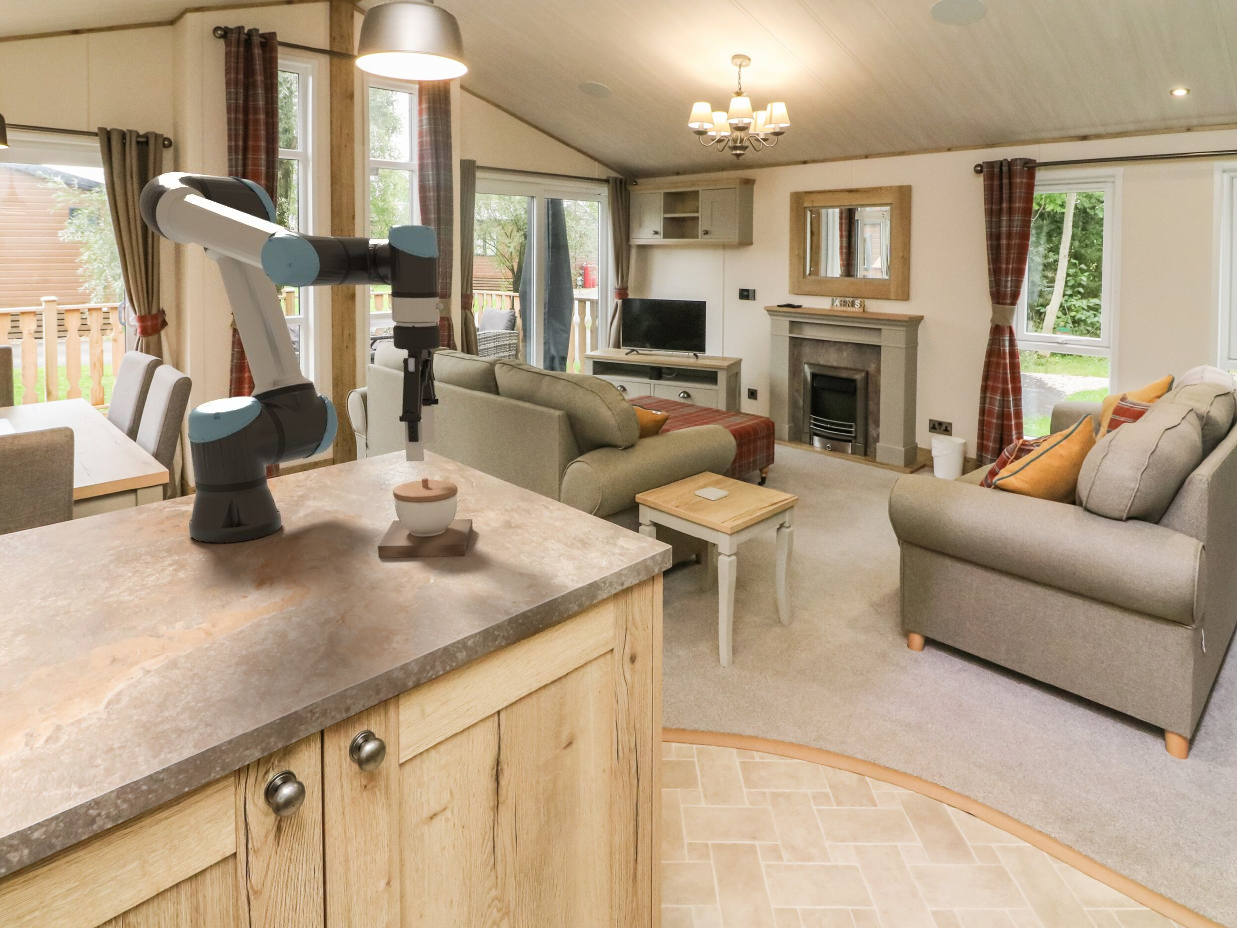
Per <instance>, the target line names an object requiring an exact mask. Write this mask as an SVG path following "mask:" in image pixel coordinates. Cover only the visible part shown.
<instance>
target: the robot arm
mask: <svg viewBox="0 0 1237 928" xmlns="http://www.w3.org/2000/svg"><path fill="white" fill-rule="evenodd" d="M139 211H140V215H141V217H142V219H143V221H144V223H145V224H146V225H147V227H148V229H150V230H151V231H152V232H153V233H154V234H156V235H158V236H160V237H161V238H164V239H167V240H169V241H171V242H175V243H178V244H182V245H184V244H186V245H189V244H191V243H192V244H196V245H197V246H201V247H203V250H204V254H205V255H206V257H207V258H208V259H210V260H212V261H214V262H215V263H216V264H217V265H218V270H219V271H220V276H221V279H222V281H223V286H224V289H225V292H226V295H227V298H228V301H229V305H230V309H231V311H232V314H233V317H234V321H235V324H236V327H237V330H238V334H239V337H240V341H241V344H242V347H243V350H244V353H245V354H244V355H245V356H246V359H247V364H248V366H249V370H250V373H251V376H252V377H251V378H252V380H253V383H254V389H253V391H252V392H251V394H250V395H249V396H233V397H229V398H224V397H223V398H220V399H214V400H211V401H208V402H204V403H202V404H200V405H198V406H196V407H194V408H193V409H192V410H191V411H190V413H189V414H188V418H187V420H188V421H187V422H188V423H187V424H188V426H187V428H188V431H187V437H188V441H189V443H190V444H189V446H190V451H191V452H190V453H191V461H192V468H193V469H192V470H193V476H194V485H195V486H194V487H195V497H194V501H193V507H192V515H191V518H190V519H189V520H188V521H189V522H188V529H189V537H190V536H191V537H193V538H194V539H197V540H200V541H199V542H201V541H205V542H204V543H209V542H217V543H219V544H224V542H225V544H227V543H236V542H237V541H238V542H243V541H249V540H250V541H251V540H255V539H258V538H262V537H265V536H268V535H271V534H273V533H275V532H277V531H278V530H279V529H281V528H282V525H283V524H282V515H281V512H280V509H279V508H278V507H277V504H276V502H275V499H274V497H273V495H272V493H271V490H270V487H269V486H268V480H267V479H268V477H267V467H269V466H274V465H277V464H278V465H279V464H283V463H287V462H292V461H295V460H300V459H304V460H305V459H308V458H312V457H313V456H315V455H319V454H322V453H324V452H326V451H327V450H329V448H330V447H331V446H332V445H333V443H334V441H335V438H336V436H337V433H338V429H339V428H338V425H339V424H338V414H337V410H336V407H335V405H334V404H333V402H332V400H330V399H329V397H327V396H326V395H325V394H322V393H318V392H317V390H316V388H315V384H314V381H312V380H310V379H309V378H307V377H305V376H304V375H303V372H302V370H301V367H300V363H299V359H298V357H297V354H296V353H297V352H296V350H295V347H294V344H293V340H292V337H291V333H290V329H289V327H288V324H287V320H286V317H285V314H284V311H283V308H282V304H281V300H280V297H279V294H278V291H277V288H276V285H277V286H282V287H291V288H302V287H303V288H304V287H317V286H318V287H324V286H367V285H369V286H371V285H372V286H374V285H376V286H390V289H391V292H390V295H391V296H390V299H391V300H390V303H391V321H393V322H394V323H395V324H394V326H393V327H392V333H393V334H392V337H393V346H394V348H396V349H397V350H406V351H407V357H404V358H403V360H402V364H403V382H402V383H403V386H402V404H401V405H402V413H401V415H399V416H398V419H399V422H400V423H401V422H403V423H404V436H405V438H404V439H405V458H406V459H405V460H406V462H425V450H424V449H425V446H424V445H425V444H427V443H429V444H432V443H433V444H434V443H436V440H437V439H436V412H435V405H437V406H438V405H439V403H440V402H439V398H437V395H436V389H435V379H434V370H433V361H432V354H433V353H432V350H435V349H436V350H437V349H439V348H441V346H442V338H441V327H440V325H438V324H437V323H438V322H440V320H441V319H440V318H441V317H440V315H441V314H440V310H442V309H444V305H443V303H442V302H441V303H440V302H439V301H440V291H439V289H440V288H439V287H440V286H439V282H440V281H439V256H440V252H439V249H438V238H437V231H436V230H435V228H434V227H432V226H429V225H418V224H417V225H414V224H411V225H410V224H396V225H395V224H394V225H390V226H389V228H388V236H387V238H382V237H380V238H379V237H361V236H359V237H358V236H357V237H356V236H354V237H352V236H351V237H349V236H320V235H309V234H305V233H302V232H300V231H297V230H293V229H291V228H288V227H286V226H284V225H280V224H277V223H276V222H277V213H276V208H275V205H274V203H273V201H272V199H271V197H270V195H269V193H268V192H267V191H266V189H264V188H263V187H262V186H261V185H260V184H258V183H256V182H255V181H252V180H249V179H244V178H240V177H237V176H217V175H208V174H207V175H206V174H198V173H197V174H196V173H187V172H166V173H163V174H160V175H158V176H155V177H153V178H152V179H151V180H150V181H149V182H147V183H146V184H145V186H144V187H143V189H142V192H141V193H140V197H139ZM424 443H425V444H424ZM191 537H190V538H191ZM194 539H193V540H194ZM197 540H196V541H197ZM217 543H216V544H217Z"/></svg>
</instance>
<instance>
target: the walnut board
mask: <svg viewBox="0 0 1237 928" xmlns="http://www.w3.org/2000/svg"><path fill="white" fill-rule="evenodd" d="M473 528H474V526H473V518H456V519H455V518H454V519H453V521H452V523H451V524H450V525H449V526H448V527H447V528H446V531H445V532H444V533H442V534H439V535H435V536H427V537H421V536H414V535H412V534H410V531H408V530H407V529H406V528H405V527H404V526H403V525H402V524H401V523H400V521H399V519H398V520H396V519H395V520H393V521H392V522H391V524H390V525H389V527H388V529H387V530H386V532H385V533H384V535H383V537H382V538H381V540H380V542H379V543H378V545H377V552H378V558H379V559H380V558H422V557H425V558H426V557H427V558H428V557H461V556H462V557H465V556H466V553H467V549H468V547H469V543H470V540H471V537H472V533H473V530H474V529H473Z"/></svg>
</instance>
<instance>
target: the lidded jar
mask: <svg viewBox="0 0 1237 928" xmlns="http://www.w3.org/2000/svg"><path fill="white" fill-rule="evenodd" d="M392 496H393V500H394V507H395V513H396V516H397V519H398V520H399V521H400V523H401V524H402V525H403V526H404V527H405V528H406V529H407V530H408V531H410V534H412V535H414V536H421V537H427V536H435V535H439V534H442V533H444V532H445V531H446V528H447V527H448V526H449V525H450V524H451V523H452V521H453V519H455V516H456V514H457V509H458V486H457V485H456V484H455V483H454V482H450V481H446V480H439V479H438V480H437V479H436V480H435V479H434V480H432V479H429V478H427V477H423V478H421V480H416V481H414V480H413V481H410V482H405V483H402V484H399V485H396V487H394V488H393V491H392Z"/></svg>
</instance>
